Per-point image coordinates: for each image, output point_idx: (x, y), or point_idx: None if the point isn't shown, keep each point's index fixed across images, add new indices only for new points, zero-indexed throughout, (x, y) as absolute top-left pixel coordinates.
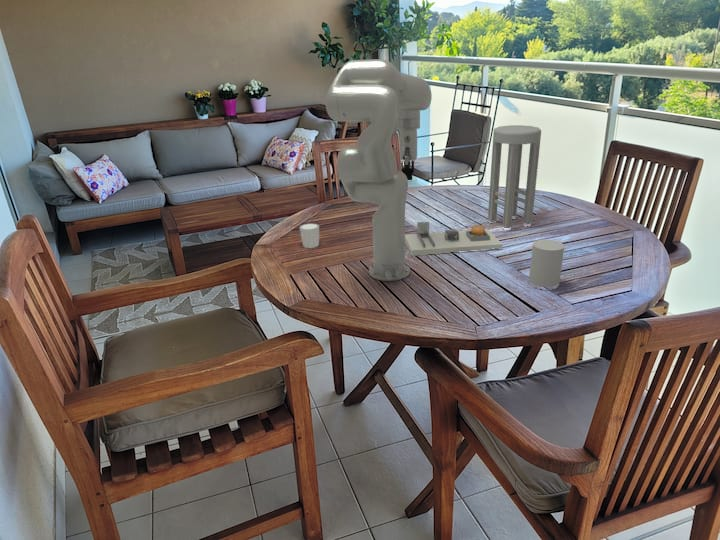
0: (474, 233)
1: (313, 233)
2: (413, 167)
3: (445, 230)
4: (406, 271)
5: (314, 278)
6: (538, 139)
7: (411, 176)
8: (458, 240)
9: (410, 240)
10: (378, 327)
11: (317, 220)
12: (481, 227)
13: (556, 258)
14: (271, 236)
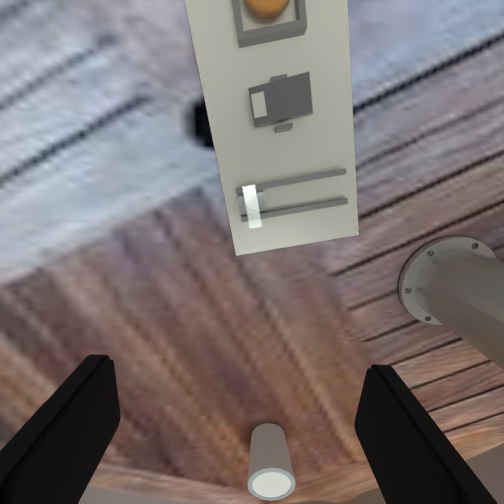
0: (287, 3)
1: (289, 463)
2: (79, 400)
3: (258, 124)
4: (471, 245)
5: (436, 407)
6: None
7: (406, 395)
8: None
9: (284, 238)
10: None
11: (110, 446)
12: None
13: None
14: (218, 500)
